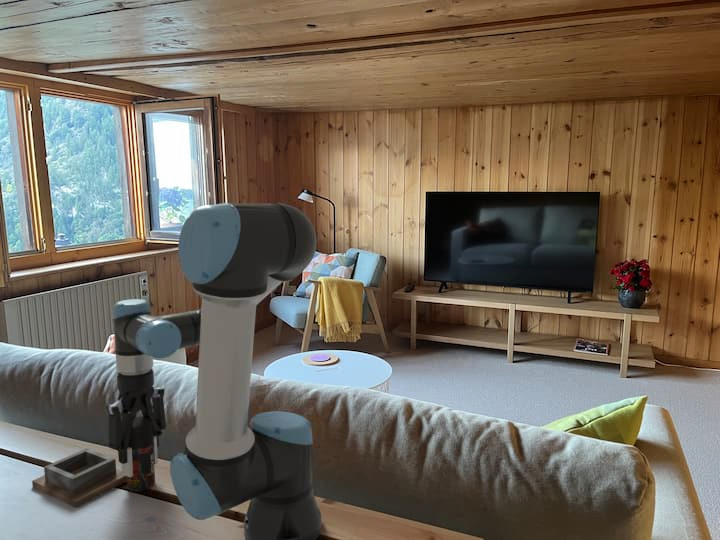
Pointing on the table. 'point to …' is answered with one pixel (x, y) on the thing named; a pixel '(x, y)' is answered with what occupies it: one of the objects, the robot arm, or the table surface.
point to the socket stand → (80, 477)
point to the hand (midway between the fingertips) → (140, 468)
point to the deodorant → (141, 455)
